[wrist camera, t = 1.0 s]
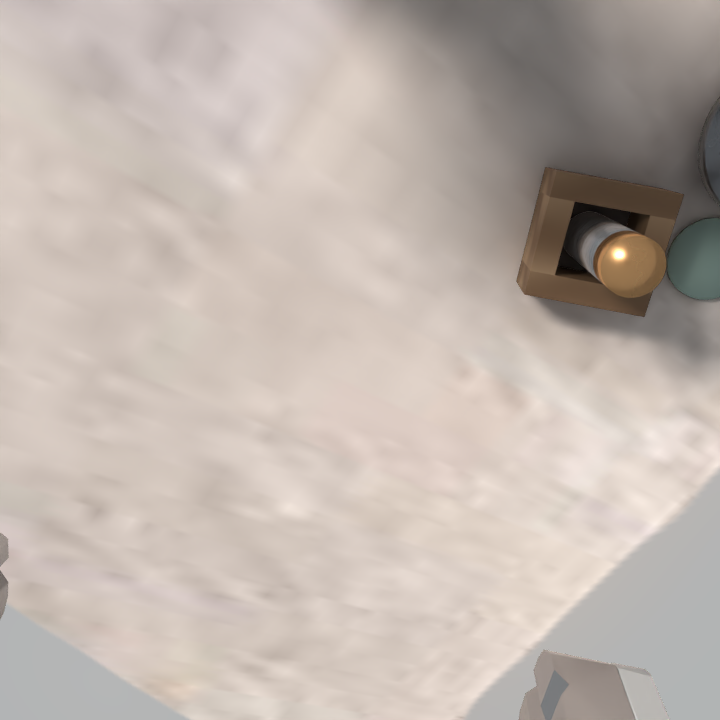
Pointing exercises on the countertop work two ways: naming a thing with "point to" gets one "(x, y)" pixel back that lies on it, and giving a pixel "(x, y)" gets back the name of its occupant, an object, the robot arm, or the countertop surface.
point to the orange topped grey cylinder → (615, 254)
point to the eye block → (550, 225)
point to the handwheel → (711, 153)
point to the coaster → (696, 260)
